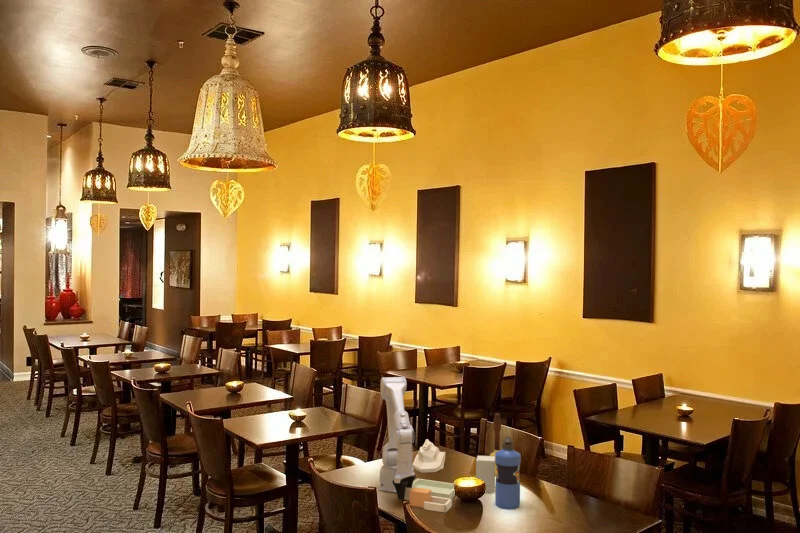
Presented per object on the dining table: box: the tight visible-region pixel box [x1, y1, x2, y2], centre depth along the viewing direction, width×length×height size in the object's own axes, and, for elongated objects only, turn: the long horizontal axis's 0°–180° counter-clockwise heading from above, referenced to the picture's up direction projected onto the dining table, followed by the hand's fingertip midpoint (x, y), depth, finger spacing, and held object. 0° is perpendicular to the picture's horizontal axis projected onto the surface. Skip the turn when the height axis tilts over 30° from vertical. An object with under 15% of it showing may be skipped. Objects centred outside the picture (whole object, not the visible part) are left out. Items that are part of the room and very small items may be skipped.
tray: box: [412, 477, 456, 500], centre depth 257 cm, size 18×13×3 cm
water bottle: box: [494, 436, 522, 510], centre depth 244 cm, size 9×9×25 cm
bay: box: [423, 496, 453, 514], centre depth 241 cm, size 8×8×2 cm
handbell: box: [489, 412, 502, 476], centre depth 286 cm, size 12×12×25 cm
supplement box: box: [475, 455, 496, 494], centre depth 261 cm, size 7×7×13 cm
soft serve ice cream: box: [412, 438, 446, 474], centre depth 287 cm, size 12×15×14 cm
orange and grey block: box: [404, 487, 431, 509], centre depth 245 cm, size 11×4×6 cm, turn 67°
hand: (404, 496), depth 246 cm, fingers open, 6 cm apart
